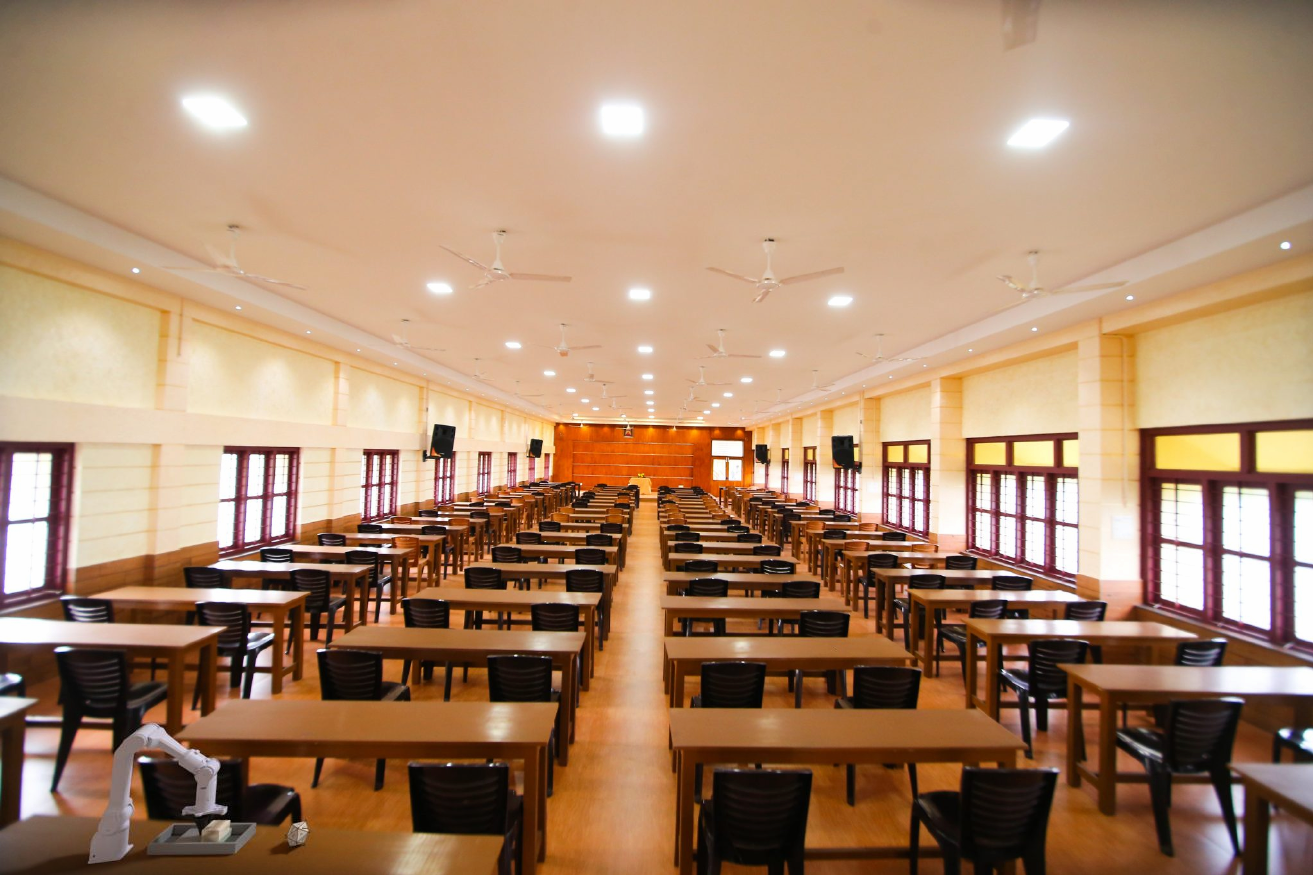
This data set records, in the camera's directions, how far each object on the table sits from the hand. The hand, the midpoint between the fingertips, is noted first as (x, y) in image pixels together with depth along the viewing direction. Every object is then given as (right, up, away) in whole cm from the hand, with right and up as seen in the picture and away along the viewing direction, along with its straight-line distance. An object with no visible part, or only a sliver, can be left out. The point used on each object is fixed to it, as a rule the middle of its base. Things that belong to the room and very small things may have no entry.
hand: (203, 833), depth 212 cm
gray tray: (0, -4, 0) cm, 4 cm away
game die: (+34, -5, +1) cm, 34 cm away
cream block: (+4, -1, 0) cm, 5 cm away
